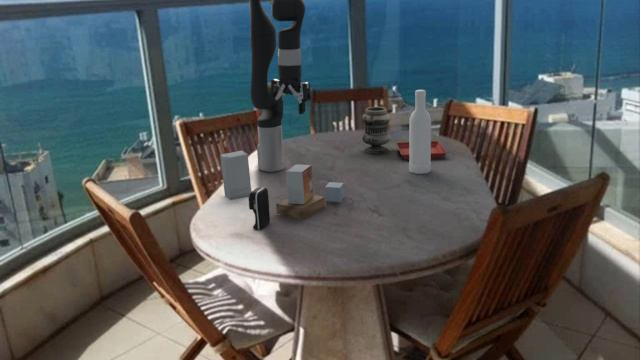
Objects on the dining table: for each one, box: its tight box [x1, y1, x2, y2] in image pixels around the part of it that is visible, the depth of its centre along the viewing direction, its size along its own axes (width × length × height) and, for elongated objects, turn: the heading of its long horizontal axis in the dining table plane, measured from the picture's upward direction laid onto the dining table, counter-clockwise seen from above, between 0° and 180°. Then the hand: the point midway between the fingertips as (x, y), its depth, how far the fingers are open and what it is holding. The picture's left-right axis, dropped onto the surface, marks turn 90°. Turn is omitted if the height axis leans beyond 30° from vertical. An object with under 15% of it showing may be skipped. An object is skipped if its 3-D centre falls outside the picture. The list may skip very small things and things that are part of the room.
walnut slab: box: [275, 194, 326, 220], centre depth 190 cm, size 10×12×4 cm
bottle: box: [408, 89, 432, 175], centre depth 220 cm, size 8×8×30 cm
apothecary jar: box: [361, 106, 392, 154], centre depth 252 cm, size 12×12×18 cm
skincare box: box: [219, 150, 252, 200], centre depth 205 cm, size 8×6×15 cm
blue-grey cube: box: [324, 181, 345, 203], centre depth 198 cm, size 5×5×5 cm
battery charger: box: [248, 187, 271, 231], centre depth 177 cm, size 7×4×11 cm, turn 161°
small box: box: [285, 164, 314, 204], centre depth 187 cm, size 8×6×10 cm
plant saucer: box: [395, 140, 447, 161], centre depth 246 cm, size 18×18×3 cm
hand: (291, 112), depth 199 cm, fingers open, 8 cm apart
